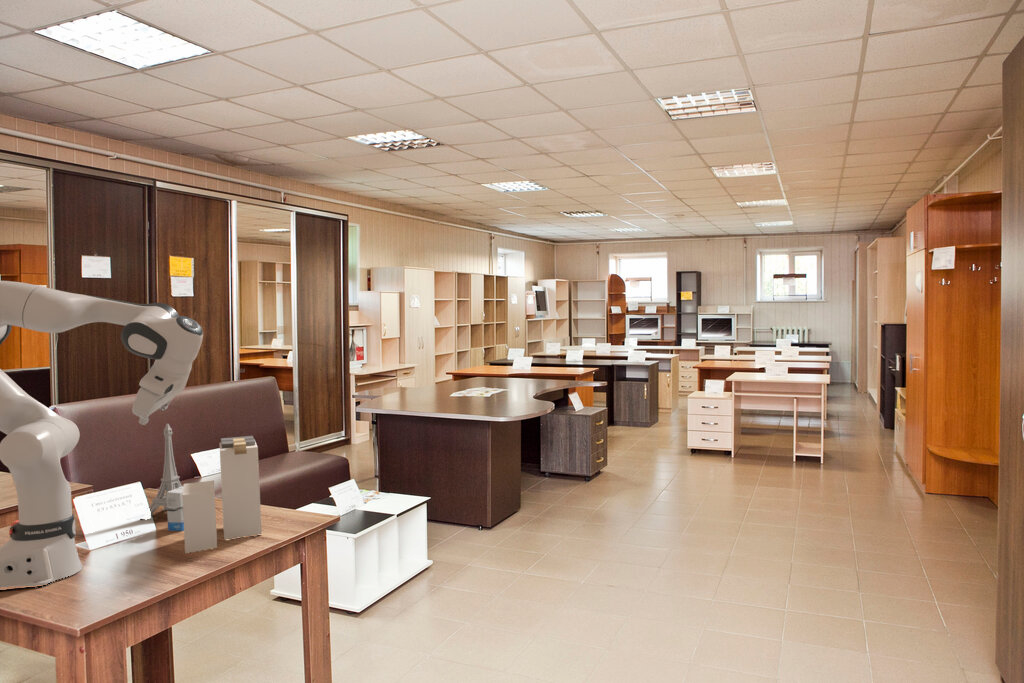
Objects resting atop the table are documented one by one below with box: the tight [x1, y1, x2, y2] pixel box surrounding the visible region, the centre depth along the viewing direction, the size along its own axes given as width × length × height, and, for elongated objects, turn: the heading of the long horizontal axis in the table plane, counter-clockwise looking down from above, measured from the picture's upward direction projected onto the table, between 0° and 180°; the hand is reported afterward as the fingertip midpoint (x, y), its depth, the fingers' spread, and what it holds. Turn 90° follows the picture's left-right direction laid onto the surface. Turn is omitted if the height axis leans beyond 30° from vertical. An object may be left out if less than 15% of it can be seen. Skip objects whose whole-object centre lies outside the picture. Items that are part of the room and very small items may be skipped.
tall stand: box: [219, 438, 262, 540], centre depth 202 cm, size 10×14×26 cm
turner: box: [220, 435, 256, 455], centre depth 198 cm, size 23×9×3 cm, turn 24°
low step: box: [182, 480, 218, 554], centre depth 192 cm, size 8×14×16 cm, turn 24°
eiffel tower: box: [148, 423, 183, 515], centre depth 222 cm, size 13×13×30 cm
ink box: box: [166, 485, 184, 532], centre depth 208 cm, size 8×5×12 cm, turn 168°
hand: (152, 415), depth 183 cm, fingers open, 8 cm apart
